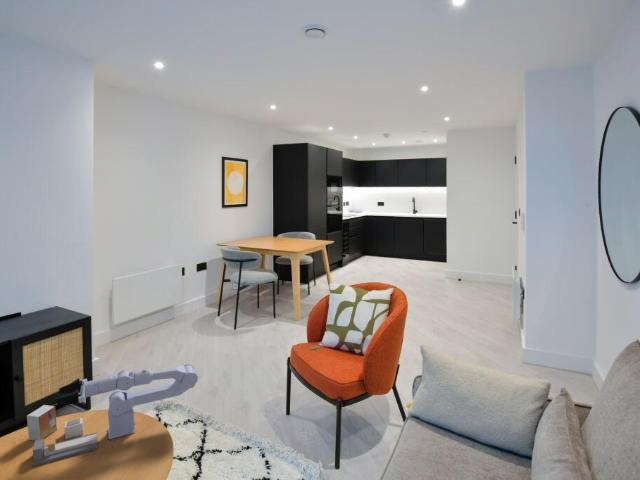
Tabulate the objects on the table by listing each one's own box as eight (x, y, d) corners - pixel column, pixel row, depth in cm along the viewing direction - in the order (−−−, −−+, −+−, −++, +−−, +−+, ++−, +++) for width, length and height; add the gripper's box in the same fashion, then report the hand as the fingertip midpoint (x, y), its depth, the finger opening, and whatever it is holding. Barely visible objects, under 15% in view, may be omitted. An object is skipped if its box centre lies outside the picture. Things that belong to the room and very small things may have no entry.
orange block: (56, 443, 151) (55, 437, 150) (55, 449, 147) (54, 443, 147) (49, 445, 150) (49, 438, 149) (48, 451, 146) (47, 445, 146)
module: (83, 428, 164) (82, 416, 163) (83, 434, 160) (82, 422, 159) (66, 433, 161) (65, 420, 161) (65, 439, 157) (64, 426, 157)
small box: (40, 442, 155) (38, 417, 154) (28, 440, 156) (26, 415, 155) (57, 429, 163) (55, 406, 162) (46, 428, 164) (43, 404, 163)
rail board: (97, 434, 160) (96, 423, 159) (96, 449, 152) (96, 437, 151) (36, 450, 151) (35, 438, 150) (33, 466, 142) (31, 453, 141)
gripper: (98, 368, 162) (58, 377, 156) (96, 386, 149) (53, 396, 143) (100, 384, 164) (61, 393, 158) (99, 403, 151) (56, 413, 145)
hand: (58, 396), depth 151 cm, fingers open, 7 cm apart
